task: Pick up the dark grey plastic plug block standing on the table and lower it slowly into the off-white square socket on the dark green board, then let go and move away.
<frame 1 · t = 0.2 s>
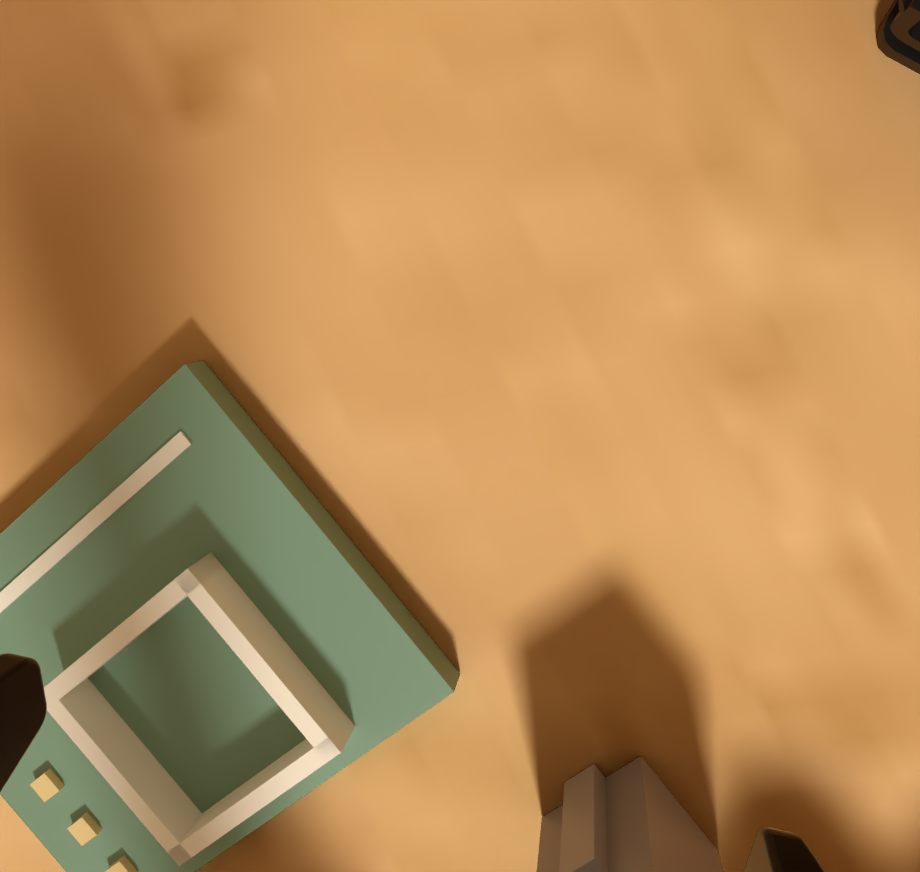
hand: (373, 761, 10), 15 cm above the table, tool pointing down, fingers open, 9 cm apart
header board: (165, 652, 28), on the table
plug: (628, 833, 26), on the table
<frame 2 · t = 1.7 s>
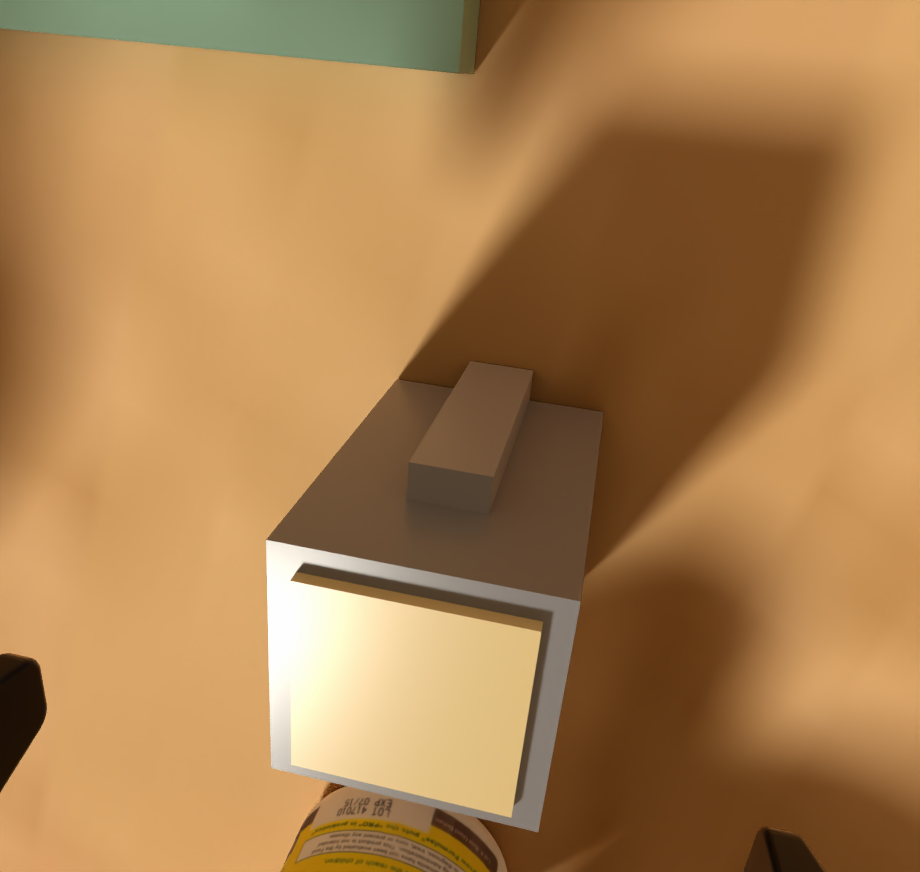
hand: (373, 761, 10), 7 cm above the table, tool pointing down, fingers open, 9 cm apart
supplement bottle: (410, 841, 21), on the table
plug: (487, 487, 16), on the table
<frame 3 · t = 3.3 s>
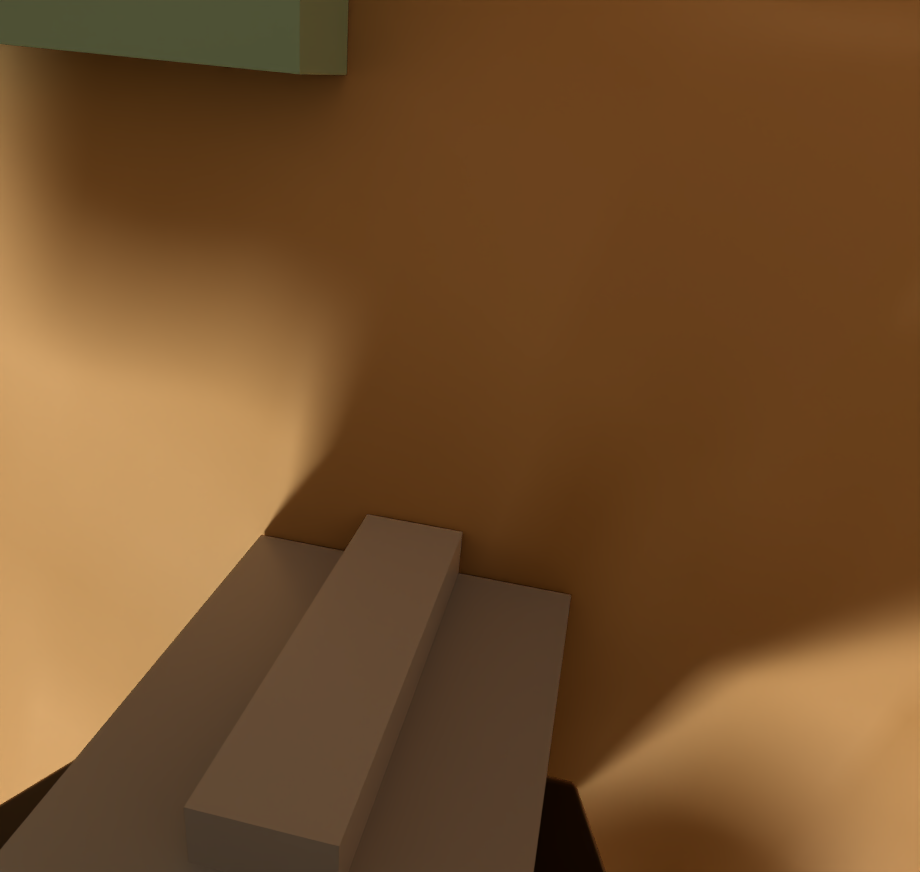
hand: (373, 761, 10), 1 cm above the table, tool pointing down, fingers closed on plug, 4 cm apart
plug: (402, 686, 11), on the table, touching gripper
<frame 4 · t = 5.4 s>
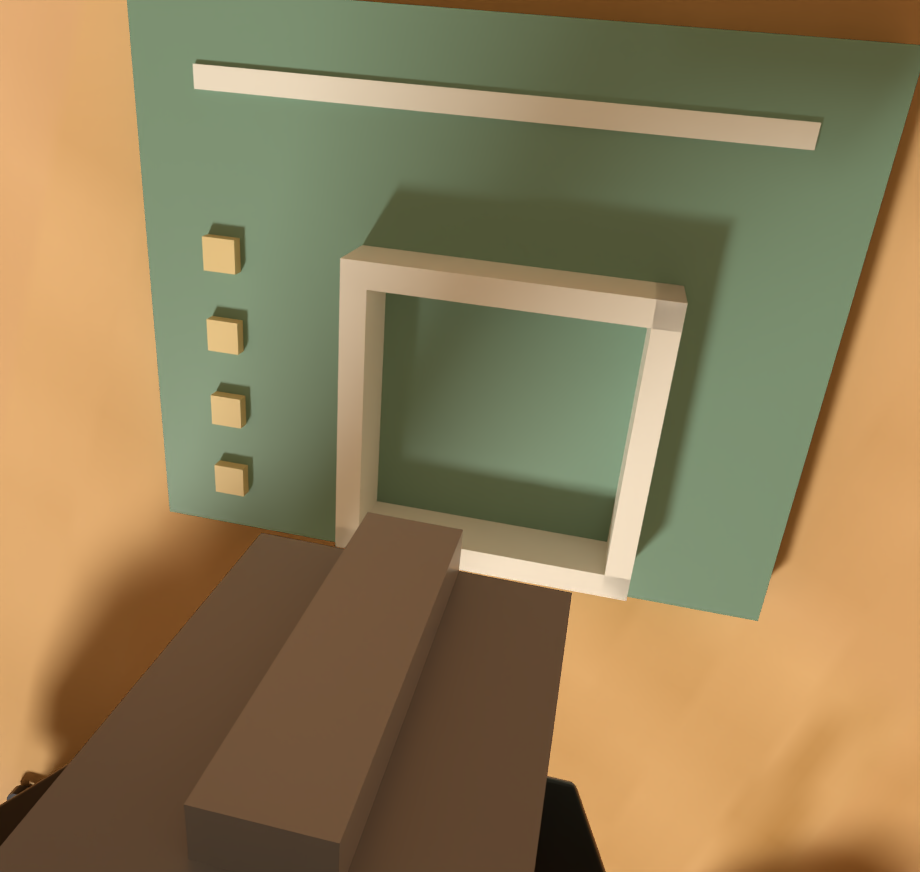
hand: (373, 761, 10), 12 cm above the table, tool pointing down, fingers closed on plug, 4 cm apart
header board: (477, 314, 20), on the table
plug: (403, 685, 11), point 11 cm above the table, touching gripper
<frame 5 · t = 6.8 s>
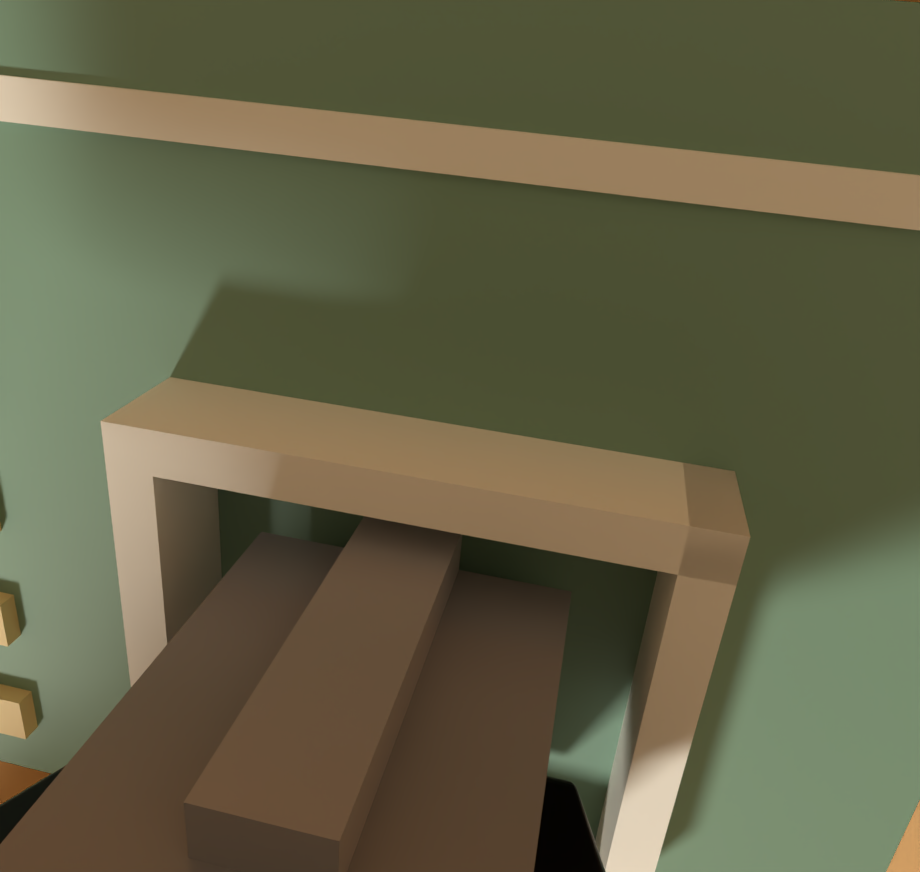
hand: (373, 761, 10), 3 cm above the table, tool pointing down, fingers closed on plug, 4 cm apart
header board: (382, 477, 12), on the table
plug: (402, 684, 11), point 2 cm above the table, touching gripper
when the fingers open (3 cm above the table, at t = 7.7 s): plug stays where it is, resting on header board.
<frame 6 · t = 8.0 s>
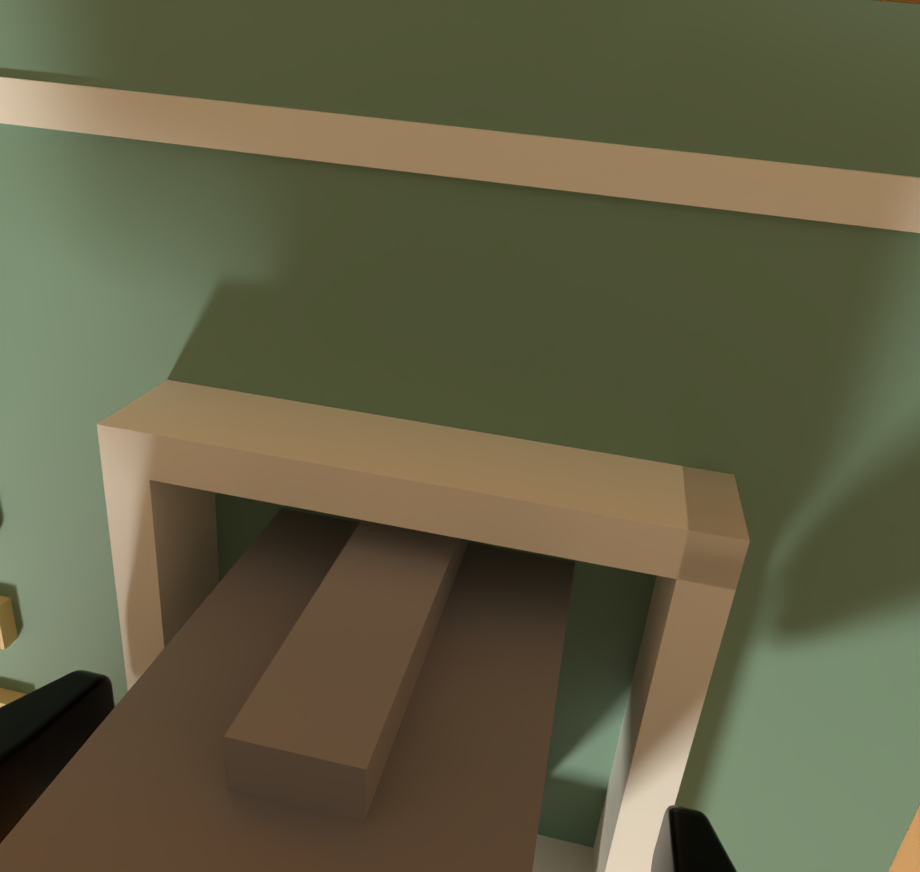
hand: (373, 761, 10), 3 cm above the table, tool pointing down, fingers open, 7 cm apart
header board: (380, 480, 12), on the table
plug: (415, 653, 11), point 1 cm above the table, touching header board
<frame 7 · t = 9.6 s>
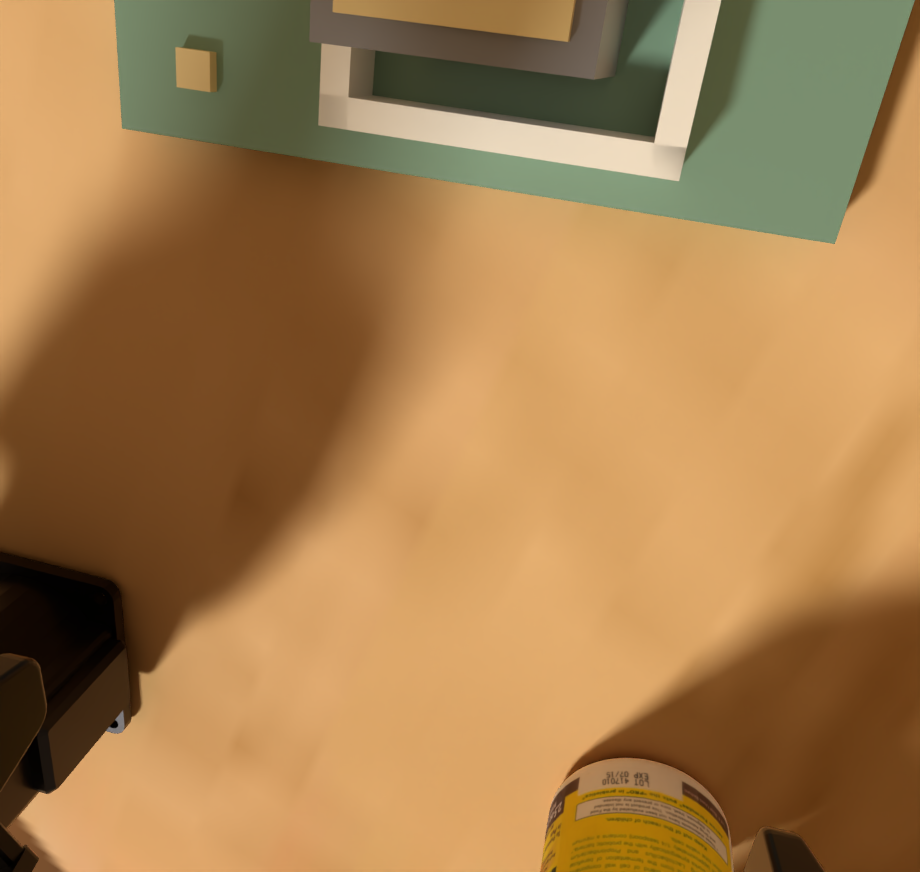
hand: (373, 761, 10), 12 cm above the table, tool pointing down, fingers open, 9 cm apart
supplement bottle: (637, 808, 26), on the table
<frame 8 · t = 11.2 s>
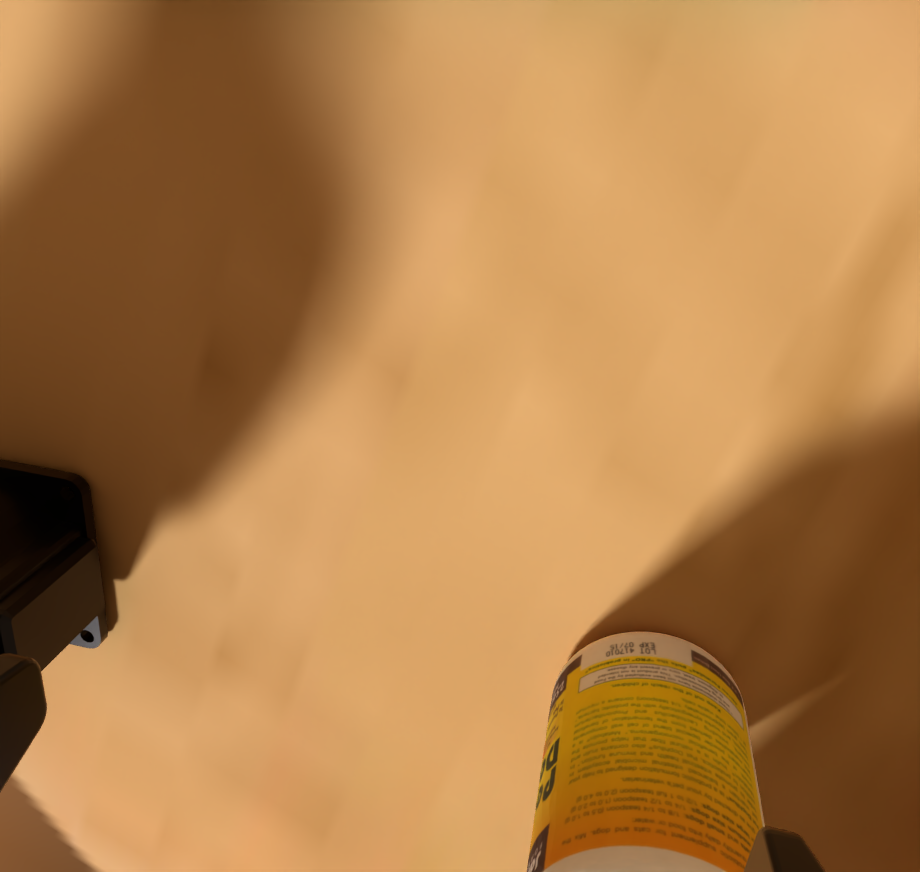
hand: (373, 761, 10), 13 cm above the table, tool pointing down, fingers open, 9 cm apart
supplement bottle: (645, 693, 24), on the table
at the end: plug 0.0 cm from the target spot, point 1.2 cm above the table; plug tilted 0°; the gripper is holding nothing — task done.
